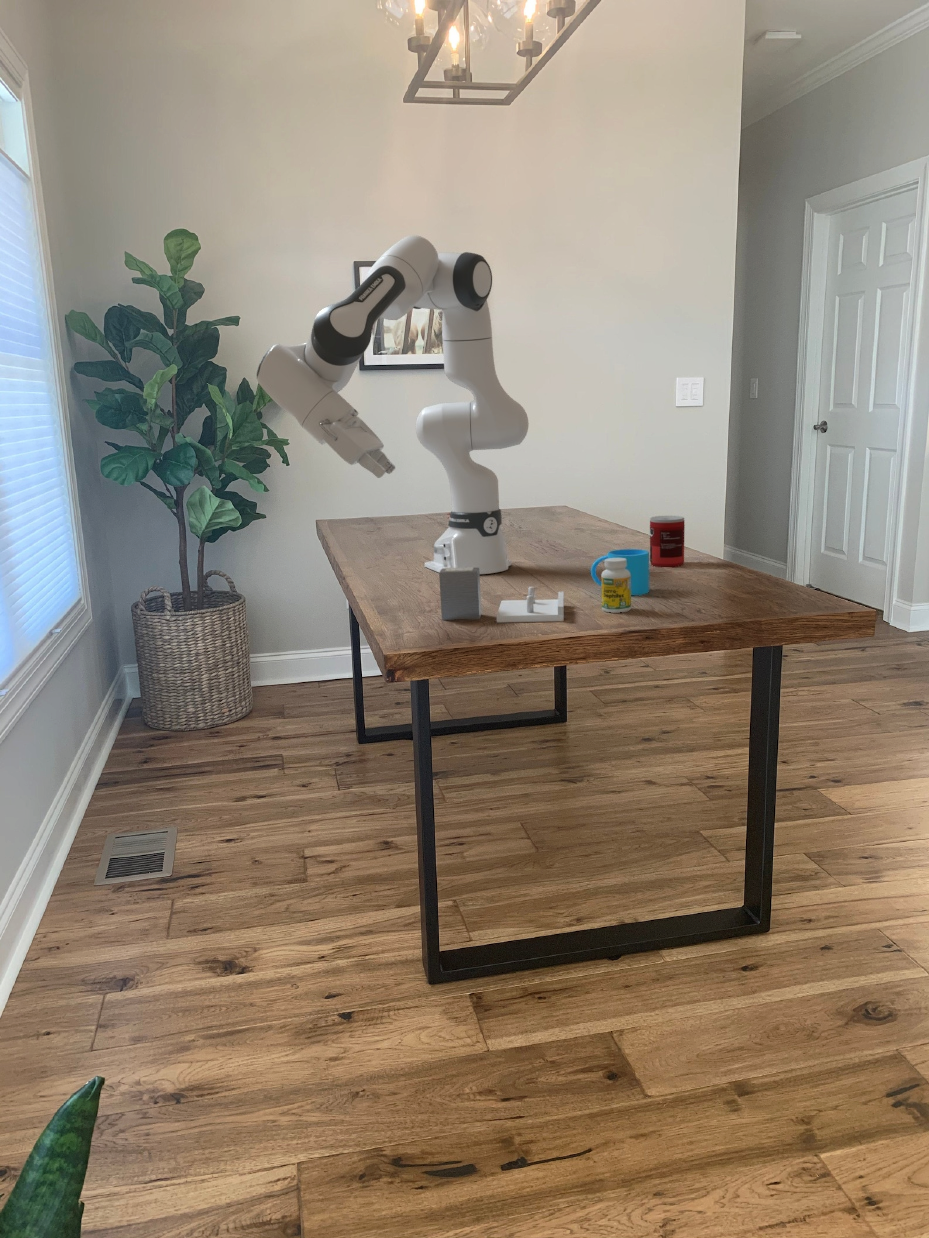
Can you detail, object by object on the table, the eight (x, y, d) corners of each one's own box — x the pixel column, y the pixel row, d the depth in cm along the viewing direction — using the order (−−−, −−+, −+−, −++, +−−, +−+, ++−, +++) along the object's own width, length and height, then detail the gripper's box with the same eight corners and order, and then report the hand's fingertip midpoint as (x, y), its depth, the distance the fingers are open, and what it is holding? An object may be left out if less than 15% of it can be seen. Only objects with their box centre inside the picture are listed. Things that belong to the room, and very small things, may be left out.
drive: (441, 620, 171) (439, 571, 169) (444, 615, 175) (442, 567, 172) (479, 619, 170) (477, 570, 168) (481, 614, 174) (479, 566, 172)
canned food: (662, 560, 220) (662, 514, 217) (691, 564, 214) (691, 516, 212) (642, 565, 215) (642, 518, 212) (671, 569, 209) (671, 520, 207)
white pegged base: (496, 622, 167) (495, 599, 166) (501, 606, 179) (501, 585, 178) (563, 621, 165) (563, 598, 164) (563, 605, 178) (563, 583, 177)
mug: (653, 589, 189) (653, 549, 187) (642, 597, 182) (642, 556, 180) (597, 586, 194) (596, 548, 192) (584, 594, 187) (584, 554, 185)
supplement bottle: (633, 607, 173) (633, 557, 171) (627, 614, 169) (627, 562, 166) (605, 606, 175) (604, 556, 173) (598, 612, 171) (598, 561, 168)
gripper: (327, 407, 155) (388, 463, 156) (354, 406, 175) (408, 456, 176) (304, 435, 157) (364, 491, 158) (333, 431, 176) (387, 481, 178)
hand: (388, 473), depth 167 cm, fingers open, 8 cm apart
